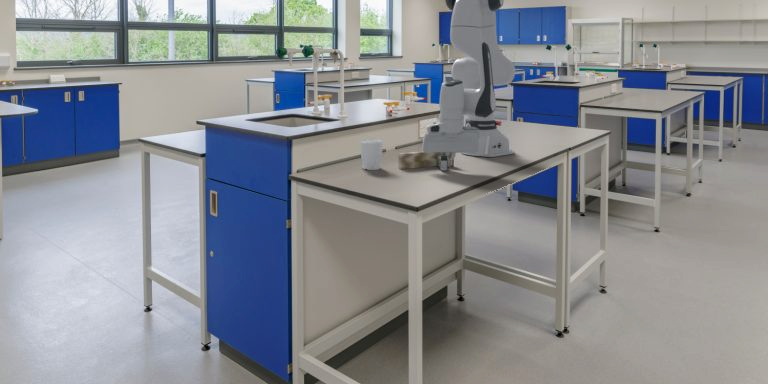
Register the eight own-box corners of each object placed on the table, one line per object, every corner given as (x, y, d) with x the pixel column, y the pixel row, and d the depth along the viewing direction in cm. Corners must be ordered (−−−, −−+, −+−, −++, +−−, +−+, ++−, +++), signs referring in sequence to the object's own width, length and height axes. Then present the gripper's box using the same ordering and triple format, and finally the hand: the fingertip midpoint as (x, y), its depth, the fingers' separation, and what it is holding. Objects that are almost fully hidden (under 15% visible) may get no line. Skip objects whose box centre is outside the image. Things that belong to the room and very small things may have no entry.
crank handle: (436, 164, 231) (436, 151, 230) (443, 164, 231) (444, 151, 230) (440, 170, 221) (440, 156, 219) (447, 170, 221) (448, 156, 220)
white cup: (368, 171, 220) (368, 143, 217) (356, 167, 226) (356, 140, 224) (386, 169, 224) (386, 141, 222) (373, 165, 231) (374, 138, 228)
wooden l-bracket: (445, 163, 235) (445, 149, 234) (453, 166, 230) (454, 151, 229) (398, 168, 226) (398, 153, 225) (406, 171, 221) (406, 156, 220)
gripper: (479, 125, 222) (477, 163, 226) (422, 124, 223) (421, 162, 226) (481, 128, 216) (479, 166, 220) (423, 127, 217) (422, 166, 220)
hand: (449, 164), depth 223 cm, fingers closed
